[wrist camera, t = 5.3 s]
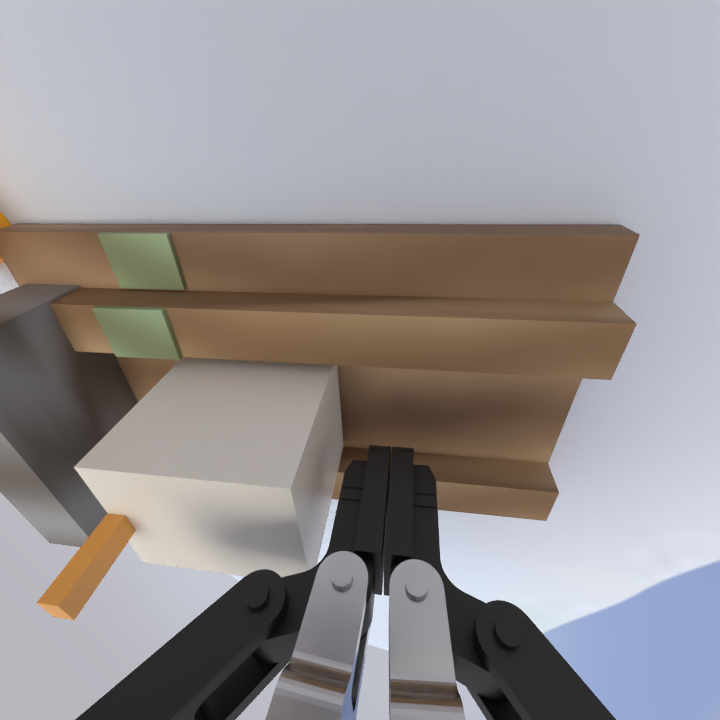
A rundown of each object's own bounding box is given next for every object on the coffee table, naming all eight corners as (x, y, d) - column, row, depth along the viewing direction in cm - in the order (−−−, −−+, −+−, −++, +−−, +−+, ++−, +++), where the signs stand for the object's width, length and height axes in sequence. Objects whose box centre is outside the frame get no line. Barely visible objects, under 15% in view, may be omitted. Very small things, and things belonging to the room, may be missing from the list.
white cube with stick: (191, 348, 14) (-18, 558, 7) (336, 355, 14) (253, 597, 7) (222, 435, 17) (90, 647, 10) (343, 445, 16) (290, 681, 9)
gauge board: (17, 224, 14) (-214, 282, 9) (620, 224, 11) (790, 311, 6) (146, 461, 22) (64, 565, 17) (520, 496, 19) (558, 634, 14)
